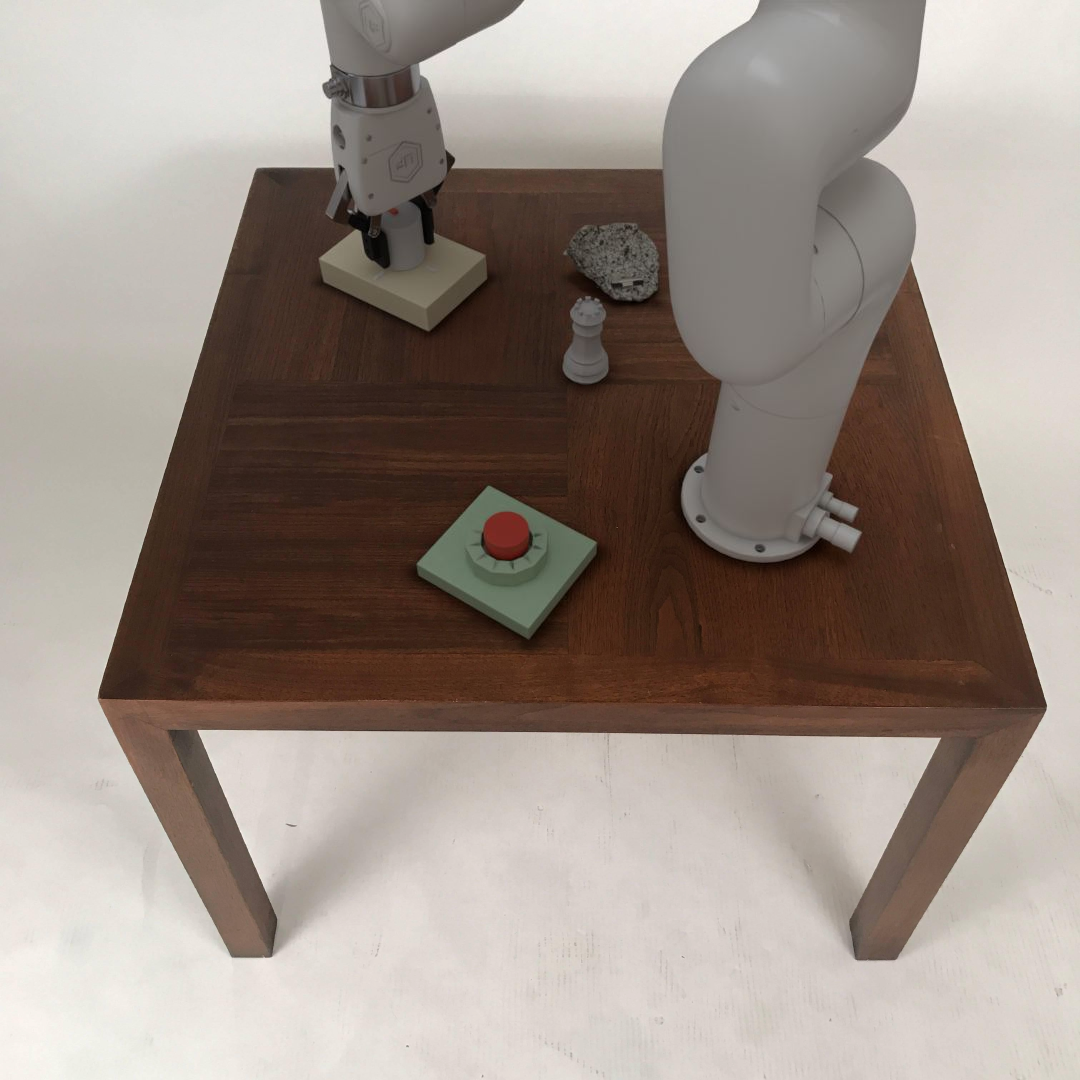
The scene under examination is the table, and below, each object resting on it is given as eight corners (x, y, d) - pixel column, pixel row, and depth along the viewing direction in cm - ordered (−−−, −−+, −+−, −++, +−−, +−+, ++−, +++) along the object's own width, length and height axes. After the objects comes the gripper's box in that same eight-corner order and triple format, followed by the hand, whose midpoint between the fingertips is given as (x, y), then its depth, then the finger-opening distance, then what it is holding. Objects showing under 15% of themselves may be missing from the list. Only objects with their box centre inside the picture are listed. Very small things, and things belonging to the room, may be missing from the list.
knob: (435, 256, 101) (430, 212, 96) (398, 277, 99) (391, 232, 94) (405, 236, 103) (400, 191, 99) (369, 255, 101) (361, 210, 97)
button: (538, 537, 79) (537, 524, 78) (512, 567, 77) (511, 554, 76) (501, 517, 80) (500, 504, 79) (475, 547, 78) (474, 534, 77)
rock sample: (614, 297, 95) (606, 205, 95) (564, 312, 101) (556, 226, 101) (688, 302, 102) (681, 216, 101) (637, 315, 108) (630, 234, 107)
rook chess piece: (604, 390, 93) (609, 324, 87) (558, 383, 94) (559, 318, 88) (611, 358, 96) (616, 292, 90) (566, 352, 97) (568, 286, 90)
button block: (596, 554, 82) (598, 528, 79) (528, 640, 77) (528, 616, 74) (489, 497, 86) (487, 471, 83) (418, 575, 81) (413, 550, 78)
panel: (487, 278, 103) (486, 253, 101) (429, 332, 98) (426, 307, 96) (384, 233, 108) (380, 208, 106) (323, 282, 103) (317, 257, 101)
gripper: (320, 129, 81) (354, 304, 95) (479, 58, 87) (488, 232, 102) (270, 93, 84) (310, 268, 98) (427, 27, 91) (443, 200, 105)
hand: (401, 248), depth 100 cm, fingers closed on knob, 4 cm apart
